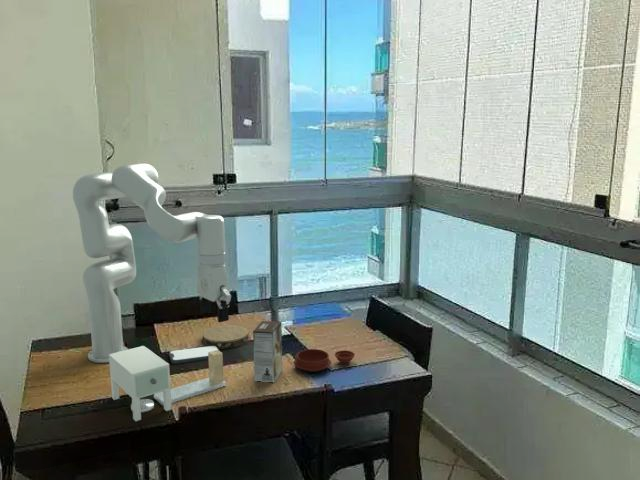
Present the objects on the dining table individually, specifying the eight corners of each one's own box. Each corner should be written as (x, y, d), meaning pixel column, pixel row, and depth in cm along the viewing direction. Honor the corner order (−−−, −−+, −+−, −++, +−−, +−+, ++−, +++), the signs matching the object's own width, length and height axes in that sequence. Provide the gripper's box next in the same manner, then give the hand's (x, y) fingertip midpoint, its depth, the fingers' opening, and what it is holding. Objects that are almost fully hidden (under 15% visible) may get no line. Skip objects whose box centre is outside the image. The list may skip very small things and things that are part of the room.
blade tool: (154, 398, 165) (152, 365, 163) (216, 379, 177) (214, 348, 175) (163, 406, 160) (161, 372, 158) (226, 386, 172) (225, 354, 170)
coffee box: (262, 369, 184) (261, 320, 180) (282, 370, 182) (282, 321, 179) (253, 381, 175) (252, 330, 171) (274, 383, 174) (273, 332, 170)
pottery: (288, 364, 188) (288, 351, 187) (346, 355, 195) (346, 342, 194) (301, 379, 177) (301, 365, 176) (361, 369, 184) (361, 355, 183)
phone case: (216, 349, 201) (168, 355, 195) (216, 344, 200) (168, 350, 194) (222, 359, 193) (172, 365, 187) (222, 354, 192) (172, 360, 186)
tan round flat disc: (257, 338, 210) (257, 330, 209) (227, 353, 197) (227, 344, 196) (223, 329, 218) (223, 321, 218) (192, 343, 205) (192, 335, 204)
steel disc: (127, 407, 160) (127, 403, 160) (148, 400, 164) (148, 396, 163) (136, 415, 155) (136, 411, 155) (157, 409, 159) (157, 404, 159)
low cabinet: (112, 398, 164) (108, 354, 162) (146, 387, 171) (143, 345, 168) (138, 423, 151) (134, 376, 148) (174, 411, 157) (171, 366, 154)
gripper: (185, 255, 170) (188, 312, 174) (216, 267, 157) (218, 327, 161) (208, 251, 175) (211, 306, 178) (240, 262, 162) (241, 321, 165)
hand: (214, 316), depth 169 cm, fingers open, 9 cm apart
